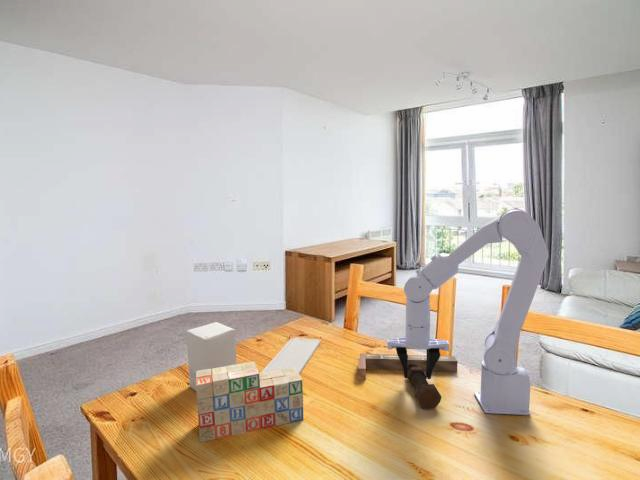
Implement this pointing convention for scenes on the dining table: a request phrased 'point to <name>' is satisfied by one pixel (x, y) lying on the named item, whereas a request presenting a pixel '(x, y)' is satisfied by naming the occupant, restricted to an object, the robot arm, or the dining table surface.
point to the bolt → (423, 388)
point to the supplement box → (210, 348)
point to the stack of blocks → (246, 399)
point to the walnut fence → (395, 364)
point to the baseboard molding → (293, 354)
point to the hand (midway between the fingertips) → (416, 376)
